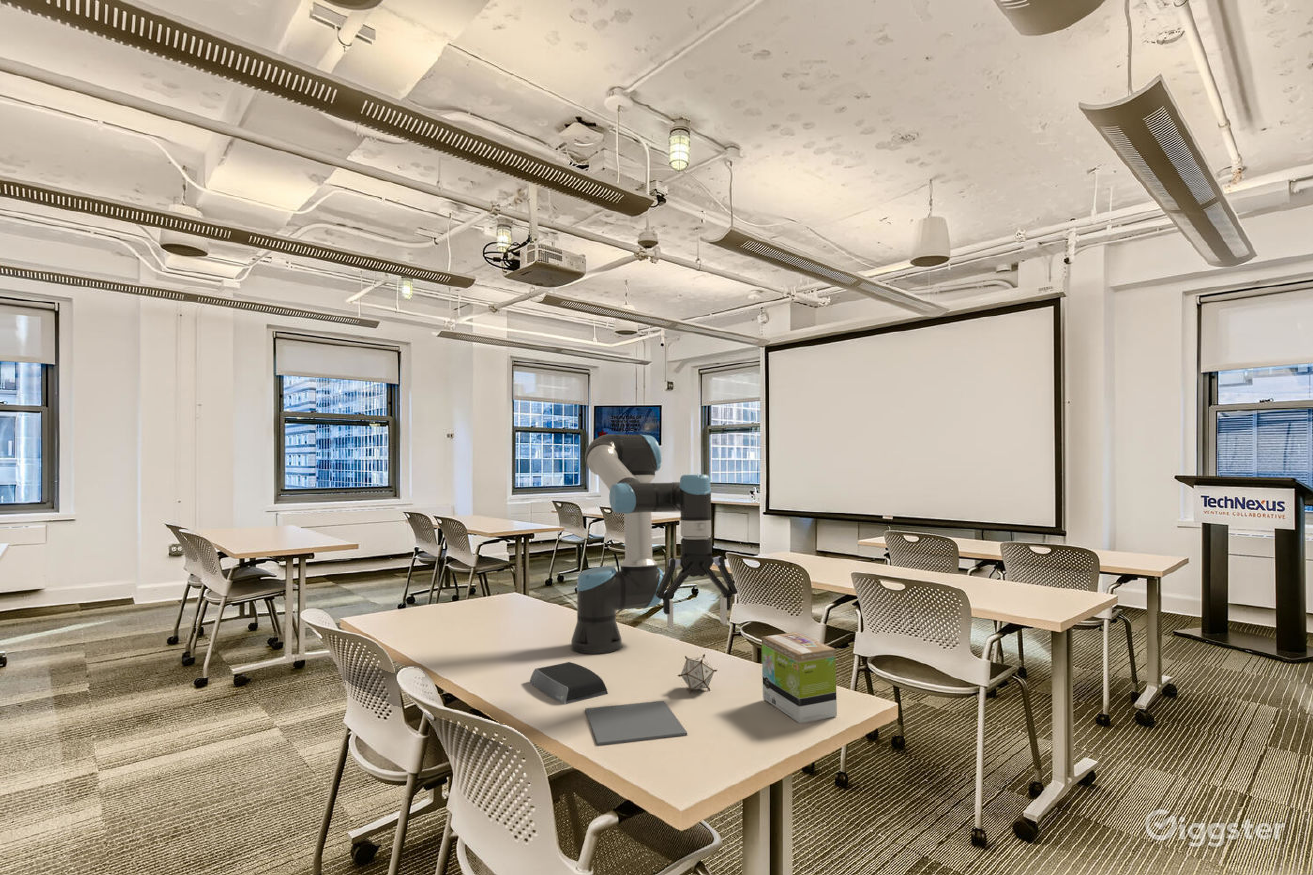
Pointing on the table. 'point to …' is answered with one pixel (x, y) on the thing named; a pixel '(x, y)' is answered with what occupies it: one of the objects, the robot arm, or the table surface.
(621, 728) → the mat
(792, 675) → the tea box
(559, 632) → the table surface
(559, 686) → the external hard drive
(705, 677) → the game die
